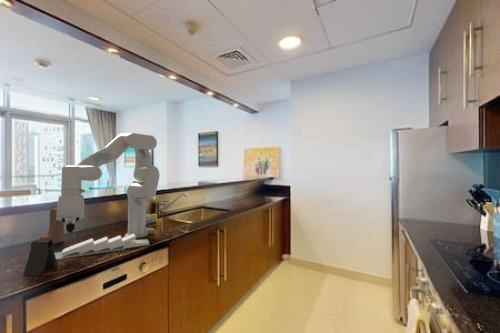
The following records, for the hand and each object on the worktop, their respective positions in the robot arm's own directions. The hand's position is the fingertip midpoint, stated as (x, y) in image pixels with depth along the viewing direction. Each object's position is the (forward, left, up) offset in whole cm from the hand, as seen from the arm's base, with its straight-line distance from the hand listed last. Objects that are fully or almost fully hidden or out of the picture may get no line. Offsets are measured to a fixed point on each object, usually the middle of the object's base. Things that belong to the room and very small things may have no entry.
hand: (70, 231), depth 111 cm
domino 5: (-22, 0, -9) cm, 24 cm away
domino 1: (+2, 0, -9) cm, 10 cm away
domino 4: (-16, 0, -9) cm, 18 cm away
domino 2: (-4, 0, -9) cm, 10 cm away
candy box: (-38, -40, -11) cm, 57 cm away
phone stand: (+8, +16, -11) cm, 21 cm away
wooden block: (+10, -24, -11) cm, 28 cm away
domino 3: (-10, 0, -9) cm, 13 cm away
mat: (-8, 0, -11) cm, 13 cm away
